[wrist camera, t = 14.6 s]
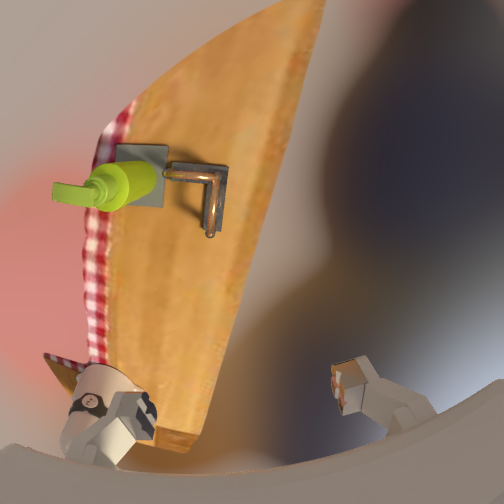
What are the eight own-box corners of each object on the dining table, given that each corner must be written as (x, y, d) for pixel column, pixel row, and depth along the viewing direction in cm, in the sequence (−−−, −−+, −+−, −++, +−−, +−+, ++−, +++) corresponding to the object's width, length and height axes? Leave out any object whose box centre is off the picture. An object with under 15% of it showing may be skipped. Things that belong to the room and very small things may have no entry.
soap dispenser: (121, 157, 41) (52, 163, 22) (159, 163, 42) (108, 170, 23) (116, 192, 42) (48, 219, 24) (153, 198, 43) (101, 230, 25)
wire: (221, 230, 47) (219, 242, 41) (166, 225, 46) (157, 235, 40) (228, 167, 43) (228, 168, 37) (171, 161, 42) (162, 162, 36)
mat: (163, 207, 45) (162, 207, 44) (114, 203, 44) (112, 203, 43) (168, 146, 41) (167, 146, 41) (118, 144, 40) (116, 144, 40)
